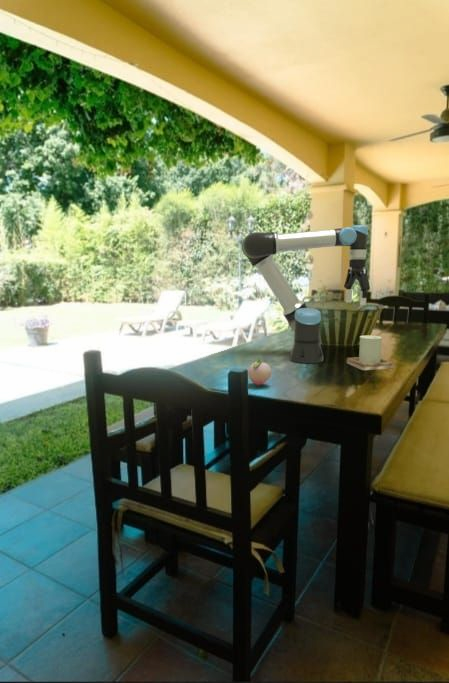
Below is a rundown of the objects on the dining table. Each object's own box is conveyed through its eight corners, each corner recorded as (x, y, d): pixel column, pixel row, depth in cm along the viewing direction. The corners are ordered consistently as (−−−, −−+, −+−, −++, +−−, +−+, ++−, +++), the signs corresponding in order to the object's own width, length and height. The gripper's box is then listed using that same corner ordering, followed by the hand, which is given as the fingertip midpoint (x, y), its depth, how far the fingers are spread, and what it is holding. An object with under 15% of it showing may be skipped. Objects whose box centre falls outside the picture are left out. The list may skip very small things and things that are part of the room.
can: (369, 366, 191) (370, 338, 189) (353, 362, 199) (355, 335, 197) (385, 364, 195) (386, 336, 193) (369, 360, 203) (370, 333, 201)
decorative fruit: (269, 389, 161) (270, 362, 159) (247, 388, 162) (247, 361, 160) (271, 383, 170) (272, 356, 168) (250, 382, 171) (250, 356, 170)
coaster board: (362, 370, 189) (363, 364, 189) (346, 363, 203) (346, 357, 202) (392, 368, 192) (393, 362, 192) (374, 361, 206) (375, 356, 205)
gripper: (338, 259, 226) (336, 301, 230) (364, 258, 202) (361, 306, 206) (351, 259, 228) (350, 301, 231) (379, 258, 204) (376, 305, 207)
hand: (355, 303), depth 219 cm, fingers open, 13 cm apart
